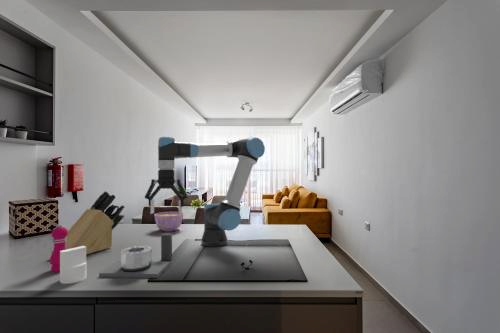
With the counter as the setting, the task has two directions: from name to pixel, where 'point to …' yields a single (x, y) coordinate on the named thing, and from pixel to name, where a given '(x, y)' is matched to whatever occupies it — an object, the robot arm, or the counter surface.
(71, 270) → the cylinder with rectangular tab
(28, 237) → the counter surface
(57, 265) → the pepper mill
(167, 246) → the dark grey tall cylinder
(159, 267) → the grey rectangular board
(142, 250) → the light gray faceted ring
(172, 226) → the bowl of food
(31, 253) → the counter surface
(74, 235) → the knife block
